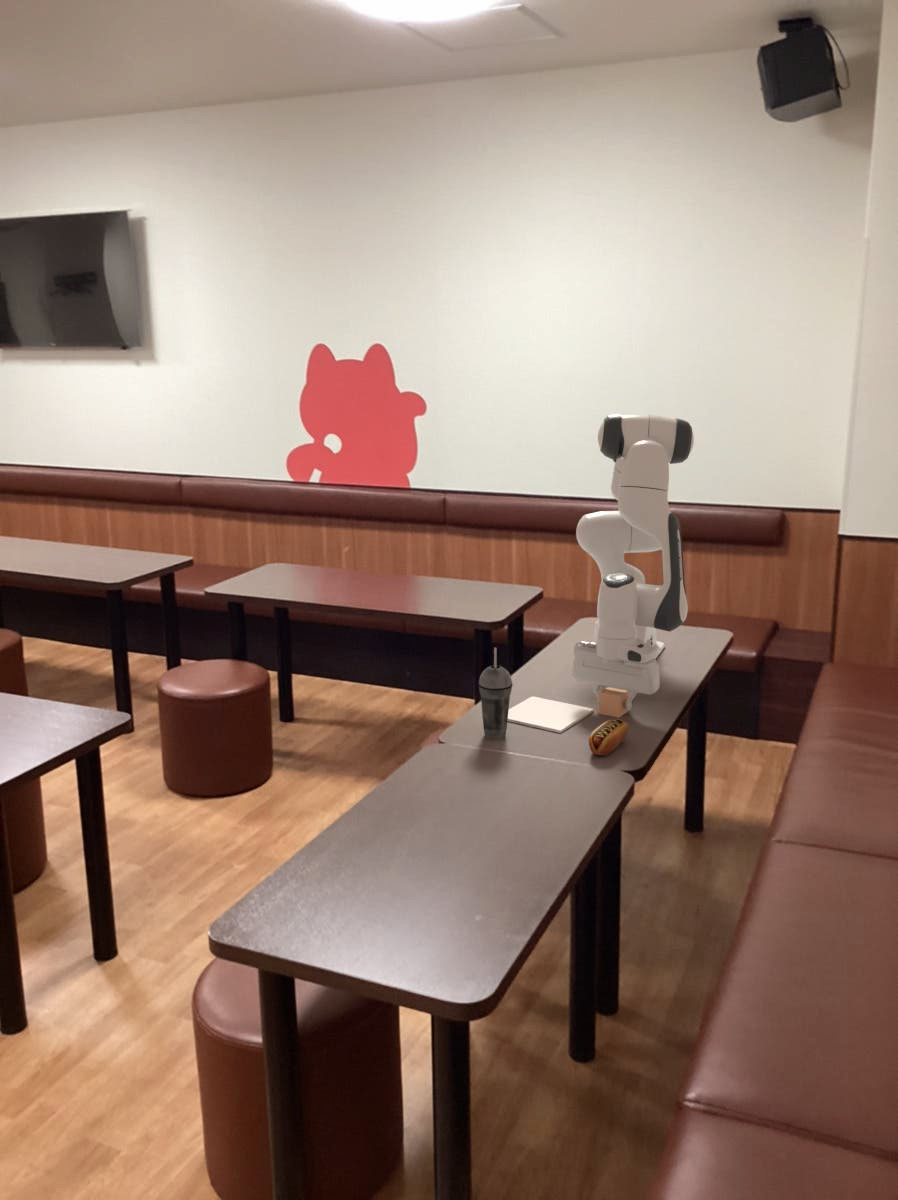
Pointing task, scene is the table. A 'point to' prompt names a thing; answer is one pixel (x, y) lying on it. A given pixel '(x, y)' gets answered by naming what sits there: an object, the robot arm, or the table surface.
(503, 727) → the beverage cup
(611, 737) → the hot dog
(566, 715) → the mat
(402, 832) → the table surface
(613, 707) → the cube
